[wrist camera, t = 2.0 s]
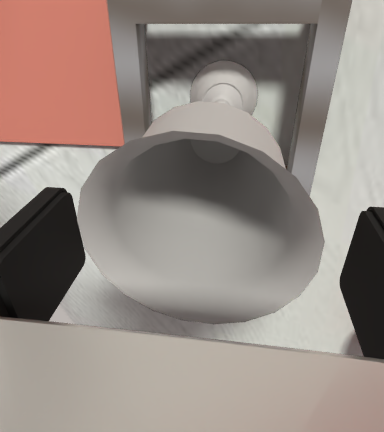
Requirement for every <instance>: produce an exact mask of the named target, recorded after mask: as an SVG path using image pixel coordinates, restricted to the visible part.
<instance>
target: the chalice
mask: <svg viewBox="0 0 384 432" xmlns="http://www.w3.org/2000/svg"><path fill="white" fill-rule="evenodd" d="M257 98H258V90H257V86H256V82H255V80H254V78H253V76H252V75H251V73H250V72H249V71H248V70H247V69H246V68H245V67H243V66H242V65H240V64H238V63H235V62H233V61H217V62H214V63H211V64H208V65H207V66H206V67H204V68H203V69H202V70H200V71H199V73H198V74H197V76H196V77H195V79H194V80H193V83H192V86H191V90H190V102H191V103H189V104H185V105H181V106H177V107H173V108H172V109H170V110H169V111H167V112H166V113H164V114H163V115H161V116H160V117H158V118H157V119H155V120H154V121H153V123H152V124H151V126H150V127H149V128H148V130H147V131H146V133H145V134H144V135H143V137H142V138H138V139H134V140H130V141H129V142H127V143H126V144H124V145H123V146H121V147H120V148H118V149H117V150H115V151H113V152H112V153H110V154H109V155H107V156H106V157H104V158H103V159H101V160H100V161H99V162H98V163H97V165H96V166H95V168H94V169H93V171H92V173H91V174H90V176H89V177H88V179H87V180H86V182H85V183H84V185H83V187H82V188H81V192H80V200H79V207H78V215H77V222H78V225H79V229H80V233H81V236H82V240H83V244H84V247H85V250H86V251H87V253H88V254H89V256H90V257H91V259H92V260H93V262H94V263H95V265H96V266H97V268H98V269H99V271H100V272H101V274H102V275H103V276H104V277H106V278H107V279H108V280H109V281H110V282H111V283H112V284H113V285H115V286H116V287H117V288H118V289H119V290H120V291H121V292H122V293H124V294H125V295H126V296H128V297H130V298H132V299H133V300H135V301H137V302H139V303H140V304H142V305H144V306H146V307H148V308H149V309H151V310H153V311H156V312H159V313H162V314H165V315H168V316H171V317H174V318H177V319H181V320H186V321H193V322H201V323H209V324H222V323H236V322H246V321H249V320H252V319H256V318H259V317H262V316H265V315H268V314H271V313H275V312H276V311H278V310H279V309H281V308H282V307H284V306H285V305H287V304H288V303H290V302H291V301H293V300H294V299H296V298H297V297H299V296H300V295H301V294H302V292H303V291H304V290H305V288H306V287H307V286H308V284H309V283H310V282H311V280H312V279H313V278H314V276H315V275H316V273H317V272H318V269H319V264H320V260H321V256H322V251H323V247H324V243H325V241H324V237H323V232H322V227H321V222H320V217H319V212H318V209H317V207H316V206H315V204H314V203H313V201H312V200H311V198H310V197H309V195H308V194H307V192H306V191H305V189H304V188H303V186H302V185H301V183H300V182H299V180H298V179H297V177H295V176H294V175H293V174H292V173H290V172H289V171H288V170H286V168H285V164H284V160H283V156H282V153H281V149H280V147H279V145H278V144H277V142H276V141H275V139H274V138H273V136H272V135H271V133H270V132H269V130H268V128H267V127H265V126H264V125H263V124H262V123H260V122H259V121H258V120H257V119H255V118H254V117H253V116H251V115H252V114H253V112H254V109H255V107H256V105H257Z"/></svg>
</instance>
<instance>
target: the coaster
mask: <svg viewBox="0 0 384 432" xmlns="http://www.w3.org/2000/svg"><path fill="white" fill-rule="evenodd" d="M0 141H2V142H27V143H52V144H77V145H102V146H123V145H124V144H125V141H124V133H123V125H122V117H121V109H120V101H119V93H118V85H117V76H116V68H115V60H114V52H113V44H112V36H111V28H110V20H109V12H108V4H107V0H0Z"/></svg>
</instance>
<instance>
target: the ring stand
mask: <svg viewBox="0 0 384 432" xmlns="http://www.w3.org/2000/svg"><path fill="white" fill-rule="evenodd" d="M107 4H108V12H109V20H110V28H111V36H112V44H113V52H114V60H115V68H116V76H117V85H118V93H119V101H120V109H121V117H122V125H123V133H124V141H125V144H126V143H127V142H129V141H130V140H134V139H138V138H142V137H143V135H144V134H145V133H146V131H147V130H148V128H149V127H150V126H151V124H152V121H151V107H150V94H149V80H148V67H147V53H146V40H145V27H144V24H311V26H310V32H309V38H308V44H307V50H306V56H305V62H304V68H303V74H302V80H301V86H300V93H299V99H298V105H297V111H296V117H295V123H294V129H293V135H292V141H291V147H290V153H289V159H288V165H287V166H285V168H286V170H288V171H289V172H290V173H292V174H293V175H294V176H295V177H297V179H298V180H299V182H300V183H301V185H302V186H303V188H304V189H305V191H306V192H307V194H308V195H309V197H310V192H311V188H312V183H313V178H314V174H315V169H316V165H317V160H318V155H319V151H320V146H321V142H322V137H323V132H324V128H325V123H326V119H327V114H328V109H329V105H330V100H331V96H332V91H333V86H334V82H335V77H336V73H337V68H338V63H339V59H340V54H341V50H342V45H343V40H344V36H345V31H346V27H347V22H348V17H349V13H350V8H351V4H352V0H107Z"/></svg>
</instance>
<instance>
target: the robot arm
mask: <svg viewBox="0 0 384 432" xmlns="http://www.w3.org/2000/svg"><path fill="white" fill-rule="evenodd" d="M84 263H85V252H84V247H83V243H82V238H81V234H80V229H79V225H78V222H77V216H76V212H75V207H74V203H73V198H72V195H71V194H70V193H67V191H66V189H64V188H52V187H46V188H45V189H44V190H42V191H41V192H40V193H39V194H38V195H37V196H36V197H35V198H33V199H32V200H31V201H30V202H29V203H28V204H27V205H26V206H25V207H23V208H22V209H21V210H20V211H19V212H18V213H17V214H16V215H14V216H13V217H12V218H11V219H10V220H9V221H8V222H7V223H6V224H4V225H3V226H2V227H1V228H0V432H384V208H382V207H369V208H368V209H367V211H362V212H361V213H360V216H359V219H358V222H357V225H356V228H355V231H354V235H353V238H352V241H351V244H350V247H349V251H348V254H347V257H346V260H345V263H344V267H343V270H342V273H341V276H340V288H341V291H342V294H343V297H344V300H345V303H346V306H347V309H348V312H349V314H350V317H351V320H352V323H353V326H354V329H355V332H356V335H357V338H358V340H359V343H360V346H361V349H362V352H363V355H364V357H361V356H352V355H344V354H336V353H329V352H320V351H312V350H303V349H294V348H286V347H277V346H268V345H260V344H251V343H243V342H234V341H225V340H216V339H207V338H198V337H189V336H180V335H171V334H162V333H153V332H144V331H135V330H125V329H116V328H107V327H97V326H87V325H78V324H68V323H59V322H49V320H50V318H51V316H52V315H53V313H54V312H55V310H56V309H57V307H58V305H59V304H60V302H61V301H62V299H63V297H64V296H65V294H66V293H67V291H68V289H69V288H70V286H71V285H72V283H73V282H74V280H75V278H76V277H77V275H78V274H79V272H80V270H81V269H82V267H83V265H84Z"/></svg>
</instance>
